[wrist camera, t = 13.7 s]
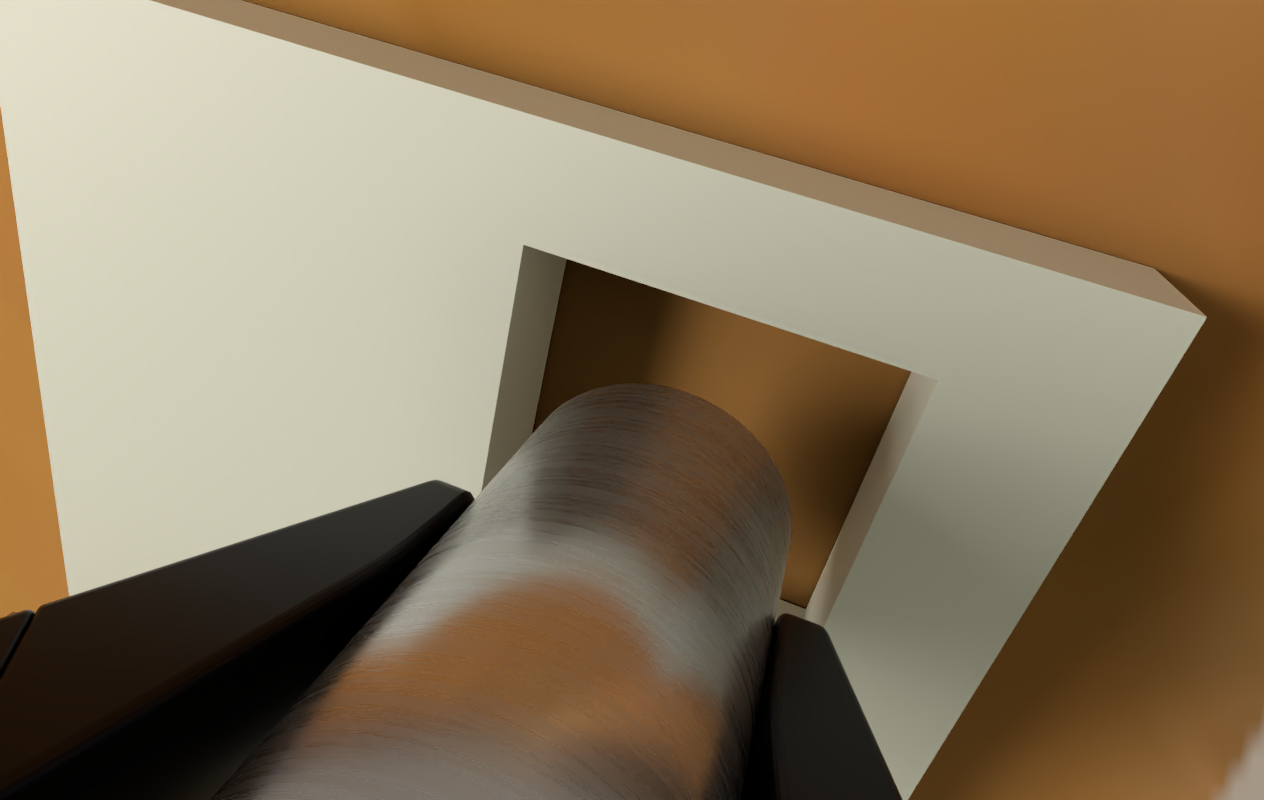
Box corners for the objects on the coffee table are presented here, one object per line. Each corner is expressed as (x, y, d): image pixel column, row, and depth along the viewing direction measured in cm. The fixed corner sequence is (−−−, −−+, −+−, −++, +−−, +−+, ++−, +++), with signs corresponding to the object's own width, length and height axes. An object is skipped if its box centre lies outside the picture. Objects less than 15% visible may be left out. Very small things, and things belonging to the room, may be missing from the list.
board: (723, 1026, 16) (703, 1143, 14) (163, 765, 18) (88, 841, 16) (1153, 268, 8) (1220, 327, 7) (102, -41, 10) (-50, -54, 9)
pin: (743, 662, 9) (441, 1958, 3) (502, 567, 10) (-187, 1524, 3) (833, 442, 8) (616, 2029, 2) (546, 343, 8) (-479, 1286, 2)
